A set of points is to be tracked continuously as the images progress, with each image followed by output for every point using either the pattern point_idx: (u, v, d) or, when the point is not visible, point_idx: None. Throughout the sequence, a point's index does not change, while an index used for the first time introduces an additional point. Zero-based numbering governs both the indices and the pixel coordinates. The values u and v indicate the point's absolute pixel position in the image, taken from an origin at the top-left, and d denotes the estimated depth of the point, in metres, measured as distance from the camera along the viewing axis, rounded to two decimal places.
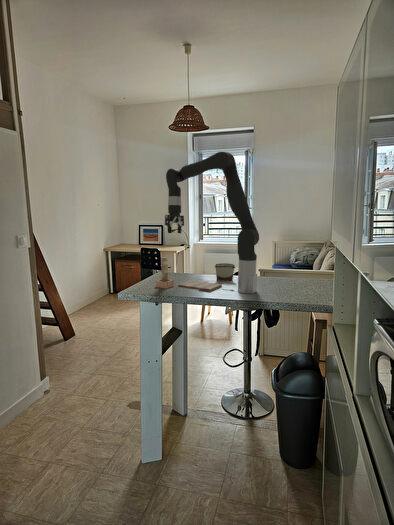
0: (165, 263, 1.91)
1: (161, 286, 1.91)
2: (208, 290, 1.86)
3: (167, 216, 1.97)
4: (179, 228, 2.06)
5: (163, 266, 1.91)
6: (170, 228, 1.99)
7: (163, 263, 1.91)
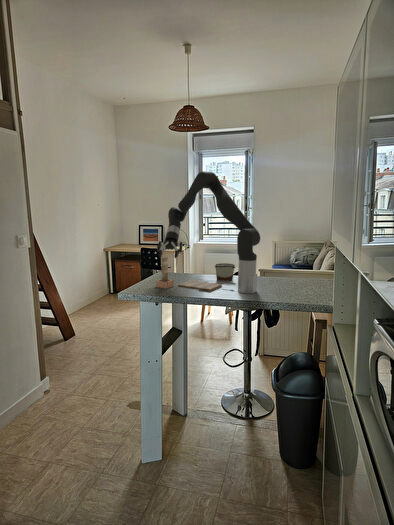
0: (165, 263, 1.91)
1: (161, 286, 1.91)
2: (208, 290, 1.86)
3: None
4: None
5: (163, 266, 1.91)
6: (160, 252, 2.00)
7: (163, 263, 1.91)
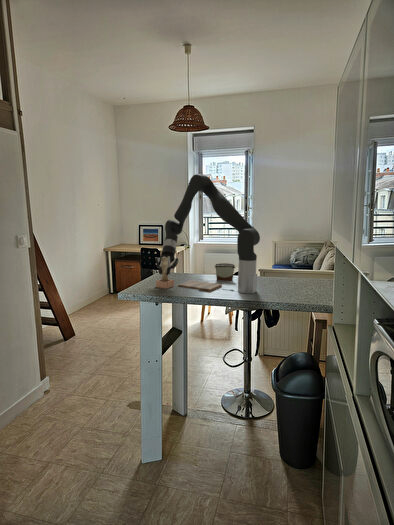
0: (165, 263, 1.91)
1: (161, 286, 1.91)
2: (208, 290, 1.86)
3: (155, 259, 1.97)
4: None
5: (163, 266, 1.91)
6: (160, 268, 1.93)
7: (163, 263, 1.91)
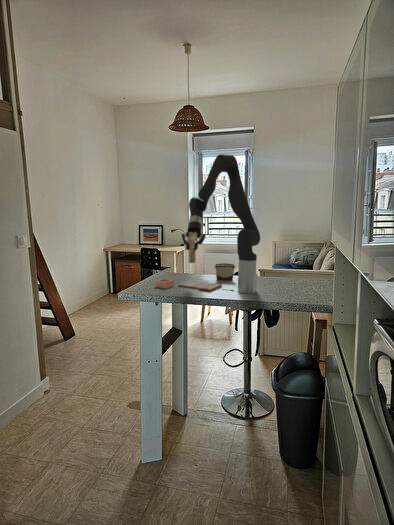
0: (193, 238, 1.89)
1: (161, 286, 1.91)
2: (208, 290, 1.86)
3: None
4: (195, 244, 1.91)
5: (191, 241, 1.89)
6: (187, 244, 1.91)
7: (191, 238, 1.89)
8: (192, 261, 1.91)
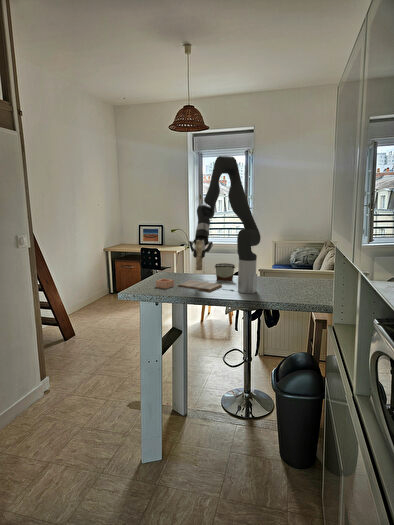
0: (200, 246, 1.90)
1: (161, 286, 1.91)
2: (208, 290, 1.86)
3: (189, 243, 1.97)
4: (202, 252, 1.92)
5: (198, 249, 1.91)
6: (194, 252, 1.92)
7: (198, 246, 1.90)
8: (199, 269, 1.92)
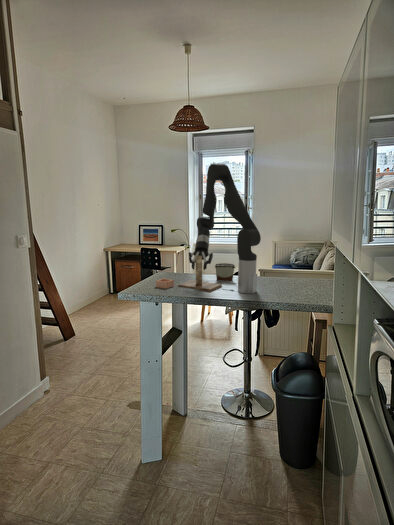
0: (199, 261, 1.92)
1: (161, 286, 1.91)
2: (208, 290, 1.86)
3: None
4: (204, 264, 1.93)
5: (197, 264, 1.93)
6: (193, 263, 1.94)
7: (197, 261, 1.92)
8: (199, 283, 1.94)
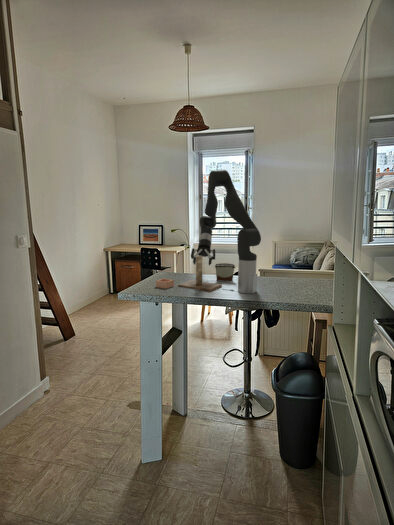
0: (200, 261, 1.92)
1: (161, 286, 1.91)
2: (208, 290, 1.86)
3: (192, 250, 2.10)
4: (209, 260, 2.05)
5: (198, 264, 1.92)
6: (194, 259, 2.05)
7: (198, 261, 1.92)
8: (199, 284, 1.94)
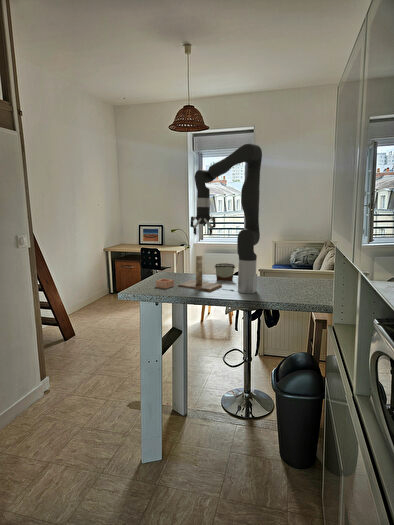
0: (200, 261, 1.92)
1: (161, 286, 1.91)
2: (208, 290, 1.86)
3: (191, 218, 2.02)
4: None
5: (198, 264, 1.92)
6: (194, 230, 2.02)
7: (198, 261, 1.92)
8: (199, 284, 1.94)
